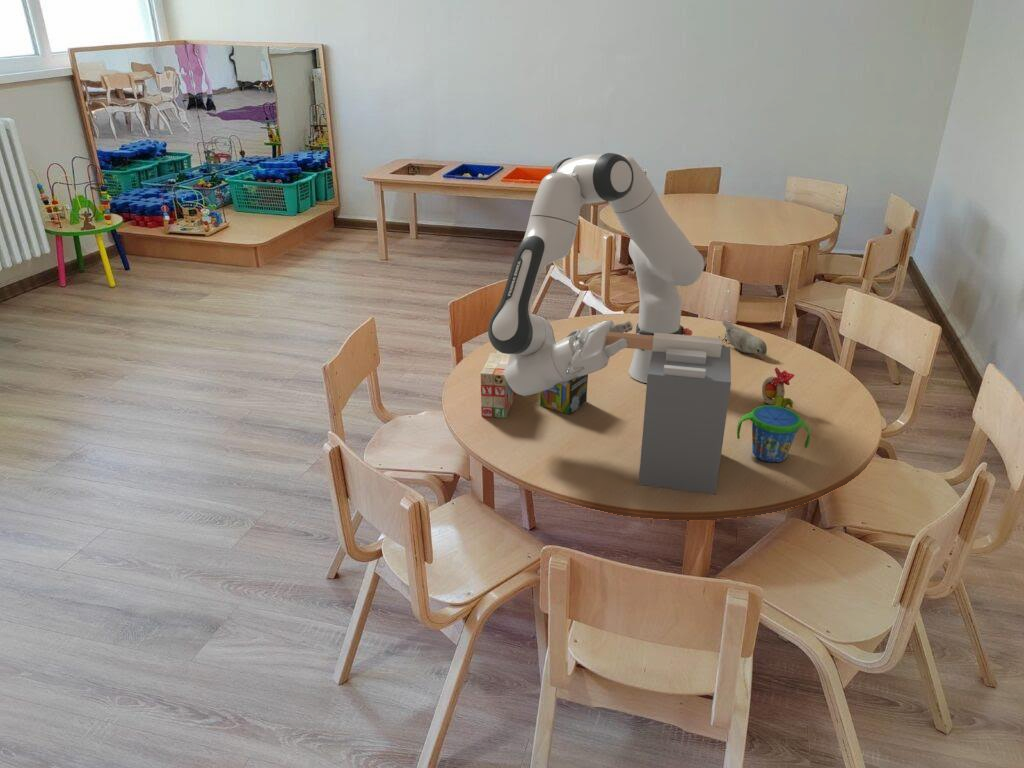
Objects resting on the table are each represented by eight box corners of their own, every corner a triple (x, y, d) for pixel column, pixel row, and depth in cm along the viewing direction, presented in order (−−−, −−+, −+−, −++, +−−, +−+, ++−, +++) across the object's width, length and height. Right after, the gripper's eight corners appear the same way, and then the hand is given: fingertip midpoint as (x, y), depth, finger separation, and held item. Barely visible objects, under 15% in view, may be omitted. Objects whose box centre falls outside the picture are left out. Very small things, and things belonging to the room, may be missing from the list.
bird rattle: (756, 413, 198) (782, 414, 190) (749, 370, 197) (775, 369, 189) (774, 408, 200) (800, 409, 192) (767, 366, 199) (794, 365, 191)
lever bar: (604, 346, 165) (605, 333, 164) (606, 341, 168) (607, 328, 167) (720, 357, 160) (721, 344, 159) (720, 351, 163) (721, 338, 162)
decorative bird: (758, 363, 221) (761, 338, 218) (714, 345, 233) (717, 322, 229) (770, 358, 224) (773, 334, 221) (726, 341, 236) (729, 318, 232)
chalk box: (557, 392, 204) (559, 340, 197) (587, 402, 199) (590, 349, 192) (538, 406, 197) (539, 352, 190) (569, 415, 192) (571, 361, 186)
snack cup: (806, 450, 177) (814, 411, 173) (804, 473, 168) (812, 433, 164) (736, 438, 182) (742, 399, 178) (731, 459, 173) (736, 420, 169)
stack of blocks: (497, 380, 211) (497, 338, 205) (520, 382, 210) (520, 340, 204) (481, 417, 192) (480, 372, 186) (505, 419, 191) (505, 374, 185)
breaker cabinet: (638, 484, 164) (648, 367, 152) (645, 442, 180) (655, 333, 168) (715, 494, 161) (732, 375, 149) (716, 451, 177) (731, 340, 165)
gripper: (557, 364, 160) (616, 338, 154) (573, 328, 178) (627, 304, 172) (571, 389, 162) (630, 365, 156) (586, 351, 180) (640, 328, 174)
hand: (629, 333), depth 164 cm, fingers open, 8 cm apart
